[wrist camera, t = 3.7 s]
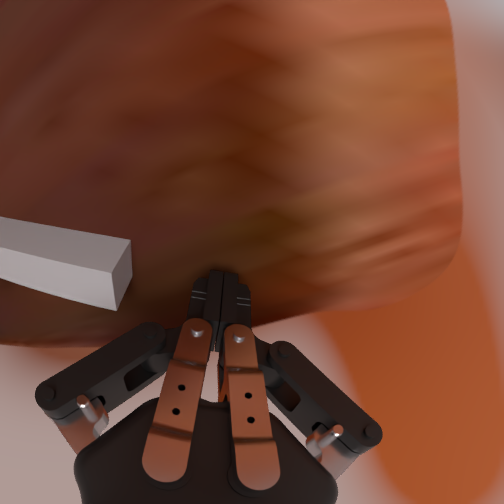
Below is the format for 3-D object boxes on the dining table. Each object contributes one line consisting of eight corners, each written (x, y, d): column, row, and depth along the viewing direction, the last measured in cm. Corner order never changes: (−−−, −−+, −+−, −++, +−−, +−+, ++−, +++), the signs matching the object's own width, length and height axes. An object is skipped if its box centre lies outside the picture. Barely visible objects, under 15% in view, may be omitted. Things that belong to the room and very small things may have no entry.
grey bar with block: (130, 225, 14) (92, 285, 10) (133, 287, 17) (107, 349, 12) (-44, 198, 12) (-83, 231, 8) (-32, 245, 14) (-65, 280, 10)
